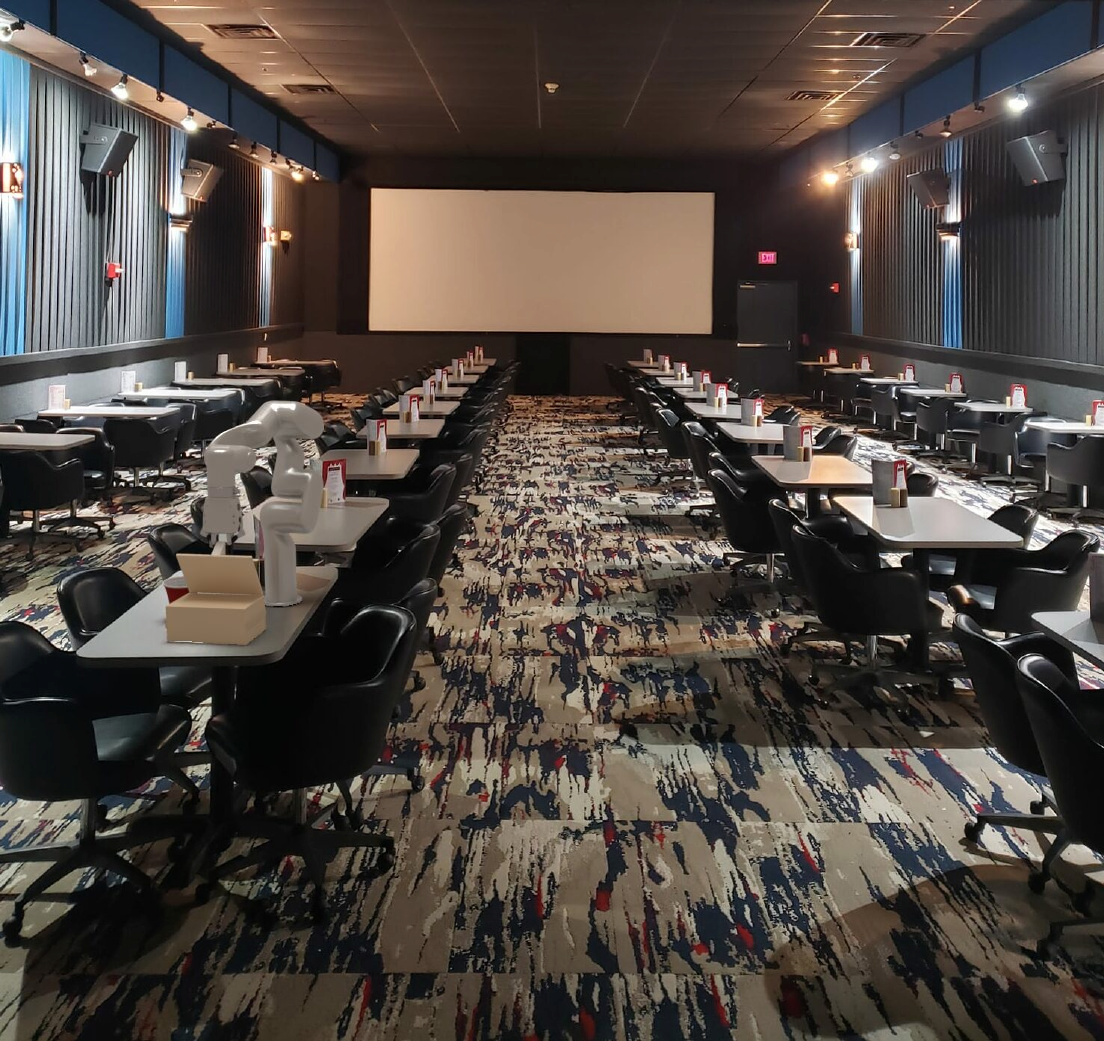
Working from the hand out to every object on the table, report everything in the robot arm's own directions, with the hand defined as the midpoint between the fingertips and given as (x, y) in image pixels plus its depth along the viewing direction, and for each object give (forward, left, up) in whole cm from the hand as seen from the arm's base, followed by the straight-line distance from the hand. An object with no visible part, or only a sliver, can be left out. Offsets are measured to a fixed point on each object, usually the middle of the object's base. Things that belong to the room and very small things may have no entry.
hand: (223, 557), depth 328 cm
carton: (+6, 0, -21) cm, 22 cm away
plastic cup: (-9, -16, -21) cm, 28 cm away
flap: (+3, 0, -4) cm, 5 cm away
